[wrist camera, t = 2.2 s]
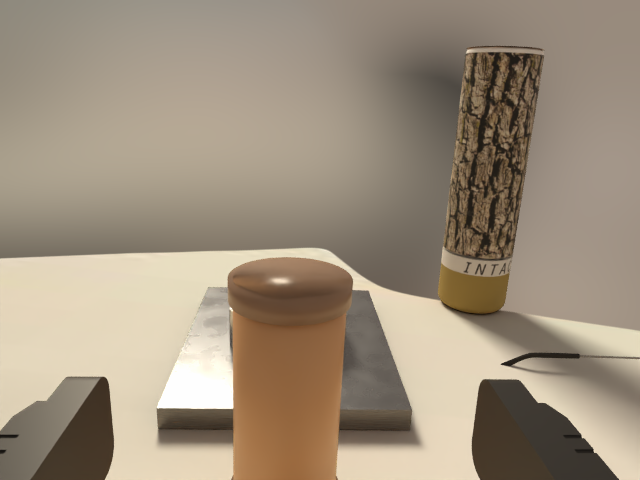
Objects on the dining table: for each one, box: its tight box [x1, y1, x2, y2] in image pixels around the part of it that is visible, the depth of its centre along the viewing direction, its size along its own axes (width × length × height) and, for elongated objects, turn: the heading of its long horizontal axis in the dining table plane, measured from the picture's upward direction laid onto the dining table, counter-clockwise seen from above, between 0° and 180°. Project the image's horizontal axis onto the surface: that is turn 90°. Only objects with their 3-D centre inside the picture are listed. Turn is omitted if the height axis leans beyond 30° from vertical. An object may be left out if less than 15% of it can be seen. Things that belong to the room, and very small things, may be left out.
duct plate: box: [157, 287, 412, 430], centre depth 42 cm, size 16×20×4 cm
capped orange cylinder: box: [228, 257, 353, 480], centre depth 24 cm, size 5×5×13 cm
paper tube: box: [438, 46, 544, 314], centre depth 50 cm, size 7×7×25 cm
